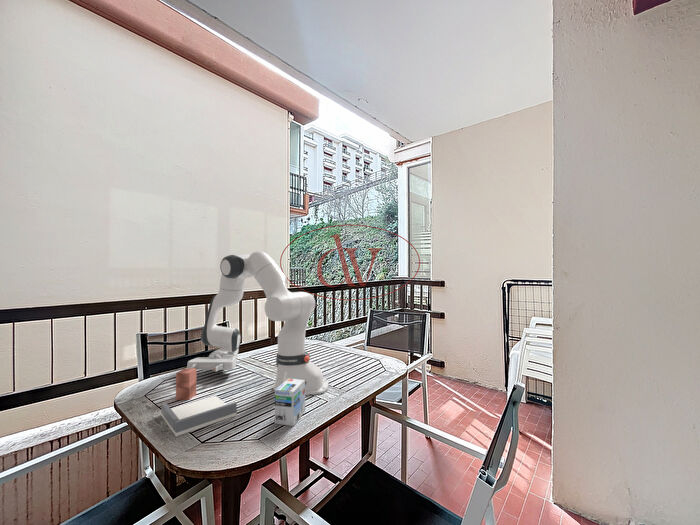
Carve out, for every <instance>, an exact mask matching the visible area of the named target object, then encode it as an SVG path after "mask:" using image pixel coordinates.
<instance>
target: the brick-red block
mask: <svg viewBox="0 0 700 525" xmlns="http://www.w3.org/2000/svg"><path fill="white" fill-rule="evenodd" d="M197 371H198V370H197V369H193V368H187V367H186V368H181V369H180V370H179V371H177V372H176V374H175V401H189V400H192V398H194V397H195V396H196V395H197Z"/></svg>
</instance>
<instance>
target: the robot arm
mask: <svg viewBox="0 0 700 525" xmlns="http://www.w3.org/2000/svg"><path fill="white" fill-rule="evenodd" d="M219 266H220V267H219V268H220V272H221V275H220V281H219V290H218V292H217V294H215V295H213V296H212V298H211V299H210V303H209V305H208V311H207V314H206V318H205V322H204V326H203V328H202V331H201V334H200V340H201V342H202V343H203V345H204V346H209V347H210V346H211V347H212V346H214V347H219V348H218V349H215V351H214V350H213V351H212V352H211V353H210V354H209V355H208V356H207V357H205V356H203V357H200V356H199V357H195V358H193V359H190V360H188V361H187V366H186V368H193V369H197V371H200V370H201V371H203V370H205V371H210V370H211V371H213V372H218V371H222V370H223V371H231V370H234V369H235V368H236V367H237V360H238V358H237V356H238V355H239V350H240V349H239V348H240V346H241V343H242V334H241V332H240V330H239V329H238V328H235V327H234V328H233V327H230V326H229V327H228V326H221V325H218V324H217V319H218V315H219V312H220V309H223V308H225V307H226V308H227V307H231V306H235V305H237V304H238V303H239V302H241V300H242V299H243V297H244V293H245V279H247V278H252V277H254V279H255V281H256V282H257V283H258V285H259V286H260V288H261V289H262V290H263V292H264V294H265V298H266V300H265V303H264V314H265V316H266V317H267V319H269V320H270V321H273V322H284V324H283V326H282V327H281V329H280V330H279V332H278V335H277V353H276V357H275V363H276V376H275V381H274V383H273V384H274V385H273V388H272V389H273V390H274V391H275V390H276V389H277V388H278V387H279V386H280V385H281V384H282V383H283V382H285V381H286V380H287V379H298V380H305V396H308V395H309V396H310V394H311V395H322V394H324V393H326V392H327V391H328V389H329V381H328V380H327V378H324V376H323V371H322V369H321V368H320V367H318V366H317V365H316V364H314V363H313V362H312V361H310V358H311V357H310V356H311V355H310V352H307V351H305V350H306V333H307V332H306V331H307V327H308V323H309V319H310V317H311V315H312V313H313V312H314V310H315V308H316V299H315V297H314V296H313V295H312V294H311V293H309V292H305V291H290V290H289V289H288V288H287V283H288V278H287V276H286V274H285V273H284V272H283V271H282V269H281V268H280V267H279V265H278V263H276V261H275V260H274V259H273V258H272V257H271V256H270V255H269V254H268V253H266V252H265V251H262V250H257V251H254V252H252V253H239V254H231V255H226V256H224V257H223V258H222V259H221V261H220V265H219ZM326 390H327V391H326ZM321 393H322V394H321Z"/></svg>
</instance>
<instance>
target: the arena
mask: <svg viewBox="0 0 700 525" xmlns="http://www.w3.org/2000/svg"><path fill="white" fill-rule="evenodd" d="M160 405H161V406H160V407H161V408H160V416H161V417H162V419H163V421H164V422H165V423H166V425H167V426H168V428H169V429H170V430H171V432H172V433H173V434H174V436H175V437H178V436H181V435H184V434H187V433H191V432H192V431H196V430H198V429H202V428H205V427H207V426H210V425H213V424H216V423H218V422H222V421H225V420H226V419H227V420H228V419H231V418H232V417H236V416H237V413H238V412H237V402H231V403H228V404H227V403H225V402H224V401H223V400H222V399H221V398H219V397H218V396H217V395H214V396H211V397H207V398H204V399H200V400H197V401H193V402H190V403H187V404H184V405H180V406H177V407H173V408H171V407H170V406H169V404H168V403H167V402H161V404H160Z"/></svg>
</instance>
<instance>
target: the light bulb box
mask: <svg viewBox="0 0 700 525" xmlns="http://www.w3.org/2000/svg"><path fill="white" fill-rule="evenodd" d="M305 412H306V395H305V380H298V379H287V380H286V381H285V382H283V383H282V384H281V385H280V386H279V387H278V388H277V389H276V390H274V425H282V426H288V427H289V426H291V427H294V426H295V425H296V424H297V423H298V421H299V420H300V418H301V417H302V416H303V415H304V414H305Z"/></svg>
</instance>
